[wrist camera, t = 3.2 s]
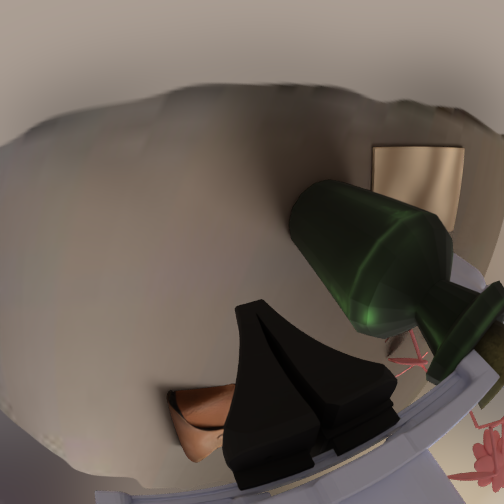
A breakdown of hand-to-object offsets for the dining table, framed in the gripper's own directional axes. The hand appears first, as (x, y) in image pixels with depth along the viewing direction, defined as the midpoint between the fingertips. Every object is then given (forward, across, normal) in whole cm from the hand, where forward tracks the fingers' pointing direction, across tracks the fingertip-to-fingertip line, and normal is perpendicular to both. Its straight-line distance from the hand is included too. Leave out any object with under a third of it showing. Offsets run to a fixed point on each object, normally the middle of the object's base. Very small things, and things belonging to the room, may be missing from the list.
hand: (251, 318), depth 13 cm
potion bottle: (+9, -9, 0) cm, 12 cm away
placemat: (+8, -22, 0) cm, 23 cm away
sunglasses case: (+9, +7, +25) cm, 28 cm away
